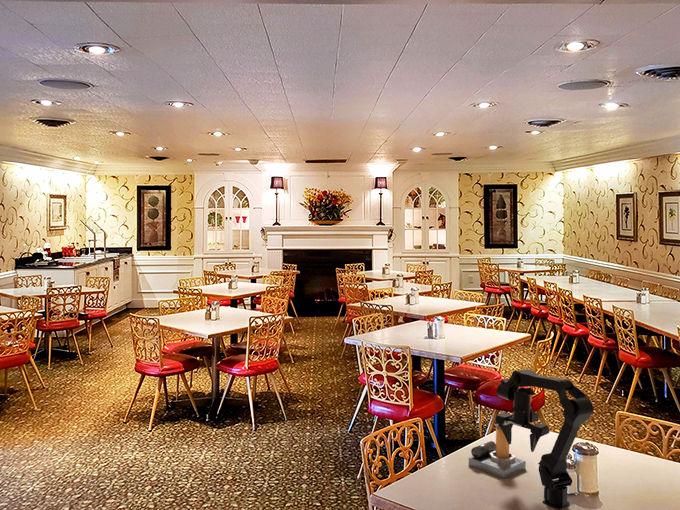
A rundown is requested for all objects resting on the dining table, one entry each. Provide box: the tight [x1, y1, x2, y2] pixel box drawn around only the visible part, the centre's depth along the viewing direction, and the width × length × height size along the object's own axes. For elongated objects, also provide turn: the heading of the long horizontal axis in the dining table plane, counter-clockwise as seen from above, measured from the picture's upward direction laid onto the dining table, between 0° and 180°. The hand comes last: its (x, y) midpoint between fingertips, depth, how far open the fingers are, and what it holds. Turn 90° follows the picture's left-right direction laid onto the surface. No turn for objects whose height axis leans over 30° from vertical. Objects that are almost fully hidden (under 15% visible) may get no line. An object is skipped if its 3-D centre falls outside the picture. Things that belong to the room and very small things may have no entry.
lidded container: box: [495, 423, 510, 459], centre depth 220 cm, size 5×5×13 cm
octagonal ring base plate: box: [468, 440, 527, 479], centre depth 220 cm, size 16×14×7 cm
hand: (520, 447), depth 205 cm, fingers open, 9 cm apart
